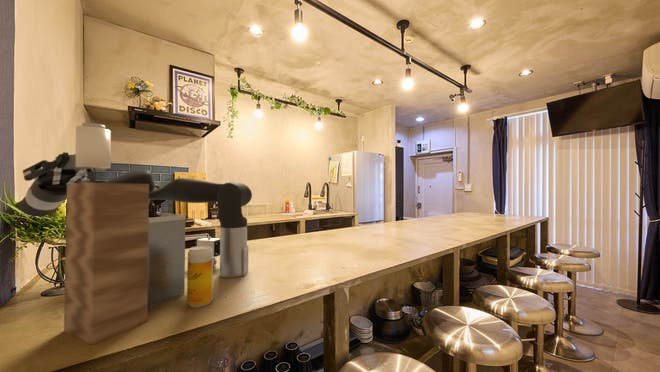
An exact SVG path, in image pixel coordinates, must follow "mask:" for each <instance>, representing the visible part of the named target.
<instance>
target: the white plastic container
mask: <svg viewBox="0 0 660 372" xmlns="http://www.w3.org/2000/svg"><path fill="white" fill-rule="evenodd" d="M111 142H112V131H111V130H110V129H107V128H106V125H104V124H100V123H95V122H82V123H81V125H77V126H75V153H74V154H69V161H68V162H67V164H66V165H65V166H64V168H62V167H61V170H82V169H93V170H94V169H103V170H104V169H112V167H111V166H112V162H111V161H112V158H111V157H112V153H111V152H112V145H111V144H112V143H111ZM56 158H57V156H55V159H56Z"/></svg>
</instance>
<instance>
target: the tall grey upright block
mask: <svg viewBox="0 0 660 372" xmlns="http://www.w3.org/2000/svg"><path fill="white" fill-rule="evenodd" d="M185 264H186V214H180V213H179V214H177V213H160V216H156V217H149V228H148V299H147V309H150V308H153V307H155V306H158V305H160V304H162V303H165V302H168V301H170V300H172V299H175V298H178V297H180V296H183V295H185V289H186V288H185V285H186V284H185V280H186V278H185V277H186V276H185V274H186V273H185V271H186V269H185V268H186V265H185ZM167 300H168V301H167Z"/></svg>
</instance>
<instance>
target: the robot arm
mask: <svg viewBox="0 0 660 372" xmlns="http://www.w3.org/2000/svg"><path fill="white" fill-rule="evenodd" d="M69 155H70V154H69V153H68V152H62V153H60V154H58V155H57V156H56V157H57V158H56V157H55V158H54V159H53V160H52V161H48V160H45V159H44V160H43V159H42V160H41V161H39V162H37V163H35V164H33V165H31V166H29V167H26V168H24V169H22V174H23V179H24V181H30V182H31V181H32V180H33V182H32V183H31V185H30V187H28V189H27V191H26V194H25V196H24V197H23V198H22V199H21V200H20V201H17V202H16V203H15V206H16V207H17V208H18V209H19V210H21V211H22V212H24V213H26V214H28V215H32V216H45V215H48V214H51V213H52V212H53V211H55V210H56V209H57V208H58V207H59V206H60V205H61V204H62V203H64V202H65V200H66V199H67V183H83V181H89V183H95V181H96V177H95V171H94V169H82V170H61V167H62V168H64V166H65V165H66V164H67V162H68V161H69ZM103 183H129V184H149V200H161V201H162V200H163V201H172V202H177V203H189V204H190V203H191V204H204V203H206V204H207V203H216V206H217V207H216V208H217V219H218V221H219V225H220V227H219V230H220V231H219V239H220V255H219V276H220V277H221V278H228V279H229V278H237V277H243V276H244V277H245V276H246V274H247V273H248V271H249V245H248V219H247V217H246V216H245V215H243V212H242V211H243V209H242V208H243V207H244V206H246V205H248V203H250V202H251V200H252V197H253V194H252V190H251V189H250V187H249V186H248V185H246V184H245V183H242V182H224V183H217V182H216V183H215V182H211V181H208V180H207V181H206V180H203V179H202V180H201V179H194V178H186V177H182V178H181V177H179V178H175V179H173V180H171V181H169V182H168V183H167V184H166V185H165V186H163V187H161V188H157V187H156V184H155V180H154V177H153V174H152V172H151V171H150V170H147V169H136V170H131V171H129V172H126V173H123V174H121V175H118V176H116V177H114V178H111V179H108V180H107V181H104V182H103ZM5 213H9V214H12V213H14V210H12V209H11V208H10V206H8V207H7V208H6V209H5V211H4V214H5ZM51 215H52V214H51Z"/></svg>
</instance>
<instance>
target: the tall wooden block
mask: <svg viewBox="0 0 660 372" xmlns="http://www.w3.org/2000/svg"><path fill="white" fill-rule="evenodd" d="M149 207H150V199H149V184H129V183H104V182H81V183H67V203H66V221H65V260H64V261H65V262H64V263H65V265H64V266H65V267H64V270H65V271H64V311H63V312H64V313H63V314H64V315H63V319H64V320H63V325H64V326H63V331H64V332H66V333H68V334H69V335H72V336H73V337H75V338H77V339H80V340H81V341H83V342H85V343H87V344H90V345H91V346H94V345H96V344H99V343H101V342H103V341H106V340H108V339H110V338H112V337H114V336H117V335H121V334H122V333H124V332H127V331H129V330H131V329H133V328H135V327H138V326H140V325H142V324H144V323H146V322H148V308H147V299H148V228H149V218H150V217H149V214H150V213H149V212H150V208H149Z"/></svg>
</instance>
